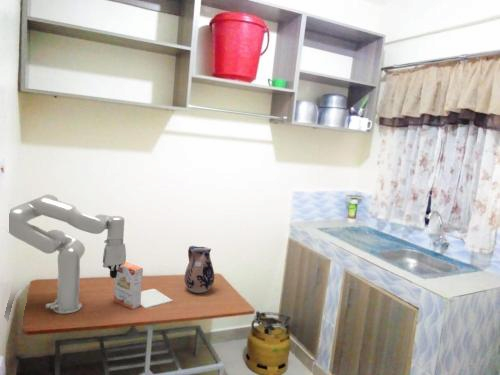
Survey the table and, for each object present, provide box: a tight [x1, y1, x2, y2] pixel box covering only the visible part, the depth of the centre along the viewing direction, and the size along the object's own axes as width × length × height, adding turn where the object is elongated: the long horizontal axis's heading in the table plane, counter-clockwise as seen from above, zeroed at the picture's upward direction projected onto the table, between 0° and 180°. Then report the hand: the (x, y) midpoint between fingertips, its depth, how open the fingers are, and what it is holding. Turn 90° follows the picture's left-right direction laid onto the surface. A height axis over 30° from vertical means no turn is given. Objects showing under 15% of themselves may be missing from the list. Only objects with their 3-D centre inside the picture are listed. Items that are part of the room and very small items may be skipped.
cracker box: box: [113, 261, 144, 310], centre depth 189 cm, size 14×6×21 cm, turn 60°
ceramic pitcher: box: [183, 245, 215, 294], centre depth 217 cm, size 18×21×25 cm
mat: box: [140, 288, 173, 310], centre depth 200 cm, size 16×19×1 cm
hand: (113, 277), depth 183 cm, fingers closed
